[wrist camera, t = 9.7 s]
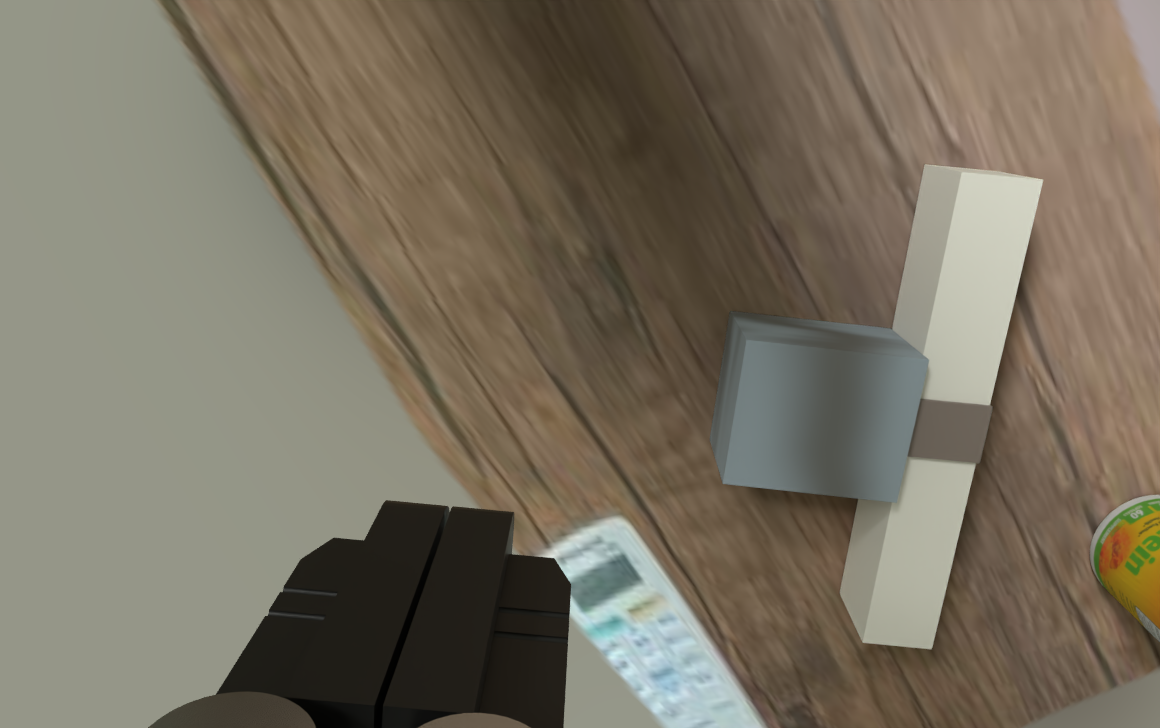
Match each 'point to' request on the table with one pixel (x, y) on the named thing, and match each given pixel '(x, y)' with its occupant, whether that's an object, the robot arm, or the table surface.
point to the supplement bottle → (1131, 558)
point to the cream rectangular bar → (941, 394)
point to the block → (815, 406)
